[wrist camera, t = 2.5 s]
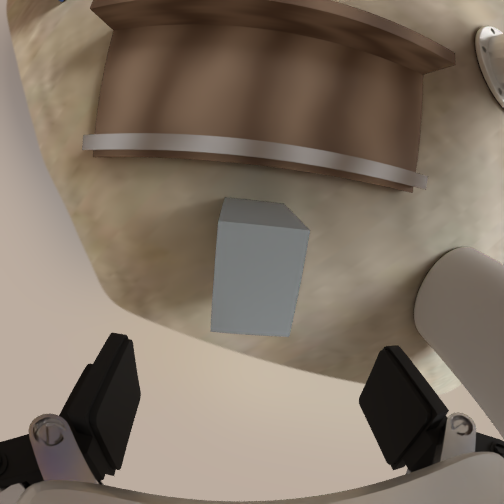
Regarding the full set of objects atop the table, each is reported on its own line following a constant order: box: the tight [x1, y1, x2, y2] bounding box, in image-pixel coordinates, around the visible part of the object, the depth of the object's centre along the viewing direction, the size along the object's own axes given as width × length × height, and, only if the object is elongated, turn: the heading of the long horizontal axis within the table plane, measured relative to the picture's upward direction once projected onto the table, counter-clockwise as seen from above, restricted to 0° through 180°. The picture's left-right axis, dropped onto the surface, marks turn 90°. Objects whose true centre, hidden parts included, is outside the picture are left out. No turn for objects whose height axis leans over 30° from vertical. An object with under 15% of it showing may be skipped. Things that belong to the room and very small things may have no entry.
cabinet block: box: [211, 197, 310, 337], centre depth 21 cm, size 5×8×9 cm, turn 173°
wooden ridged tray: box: [82, 0, 456, 193], centre depth 18 cm, size 28×13×6 cm, turn 83°
